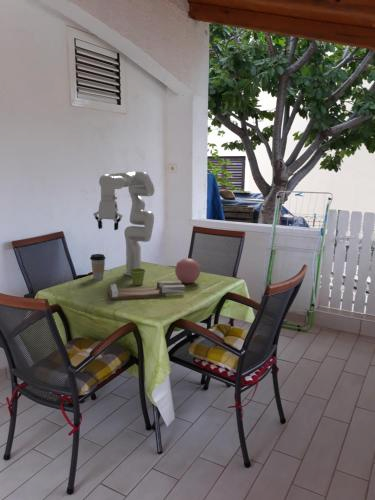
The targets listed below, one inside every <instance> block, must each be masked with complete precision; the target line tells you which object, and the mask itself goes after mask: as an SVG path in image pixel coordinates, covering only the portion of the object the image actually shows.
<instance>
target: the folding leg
mask: <svg viewBox="0 0 375 500" xmlns="http://www.w3.org/2000/svg"><path fill="white" fill-rule="evenodd" d="M110 288H111V293H112V297H118V290H117V288H118V286H117V284H116V283H111V284H110Z"/></svg>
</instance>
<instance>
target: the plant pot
mask: <svg viewBox="0 0 375 500" xmlns="http://www.w3.org/2000/svg"><path fill="white" fill-rule="evenodd" d="M130 272H131V275H132V276H131V279H132V280H131V281H132V285H133V286H142V285H143V283H144V278H145V277H144V276H145V272H146V269H145V268H143V267H141V268H134V269H131V270H130Z"/></svg>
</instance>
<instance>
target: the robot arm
mask: <svg viewBox="0 0 375 500" xmlns="http://www.w3.org/2000/svg"><path fill="white" fill-rule="evenodd" d="M98 184H99V187H100V201H99V203H98V205H99V206H98V211H95V212H94V213H93V216H94V219H95V220H96V222H97V227H98V230H100V229H103V221H102V220H112V221H113V222H114V224H113V229H114V231H117V230H118V229H119V223H120V222H121V221H122V218H123V217H124V216H123V215H124V214H121V213H120V212H119V210H118V203H117V202H118V201H117V199H118V197H117V196H116V193H115V192H116V191H115V190H120V189H122V188H128V189H127V190H128V193H129V196H130V199H131V209H130V214H129V223H130V224H132V225H129V226H126V227H125V229H124V239H125V258H126V259H125V263H126V265H125V270H124V271H123V274H124V275H125V276H129V277H130V276H131V277H132V275H131V272H130V270H131V269H134V268H142V267H141V266H142V265H141V264H142V262H141V261H142V259H141V258H142V249H141V247H142V246H141V244H140V243H141V242H142V243H147V242H150V241H151V239H152V235H153V229H154V223H155V215H154V213H153V212H152V211H149V210H145V208H146V203H145V200H144V199H143V198H142V197H152V196H153V195H155V194H154V193H155V186H154V183H153V181H152V179H151V177H150V175H149V174H148V173H147V172H146V171H132V170H131V171H126V172H117V173H107V174H102V175H101V176H100V177H99V179H98ZM135 225H136V226H135Z"/></svg>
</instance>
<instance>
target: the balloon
mask: <svg viewBox="0 0 375 500" xmlns="http://www.w3.org/2000/svg"><path fill="white" fill-rule="evenodd" d="M174 269H175V270H174V273H175V276H176V278H177V280H178V281H181V282H182V284H192V283H194V282H196V281H197V280H198V278H199V277H200V274H201V267H200V265H199V263H198V262H197V260H196V259H193V258H189V257H188V258H186V257H185V258H183V259H181V260H179V261H177V263H176V265H175V268H174Z"/></svg>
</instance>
